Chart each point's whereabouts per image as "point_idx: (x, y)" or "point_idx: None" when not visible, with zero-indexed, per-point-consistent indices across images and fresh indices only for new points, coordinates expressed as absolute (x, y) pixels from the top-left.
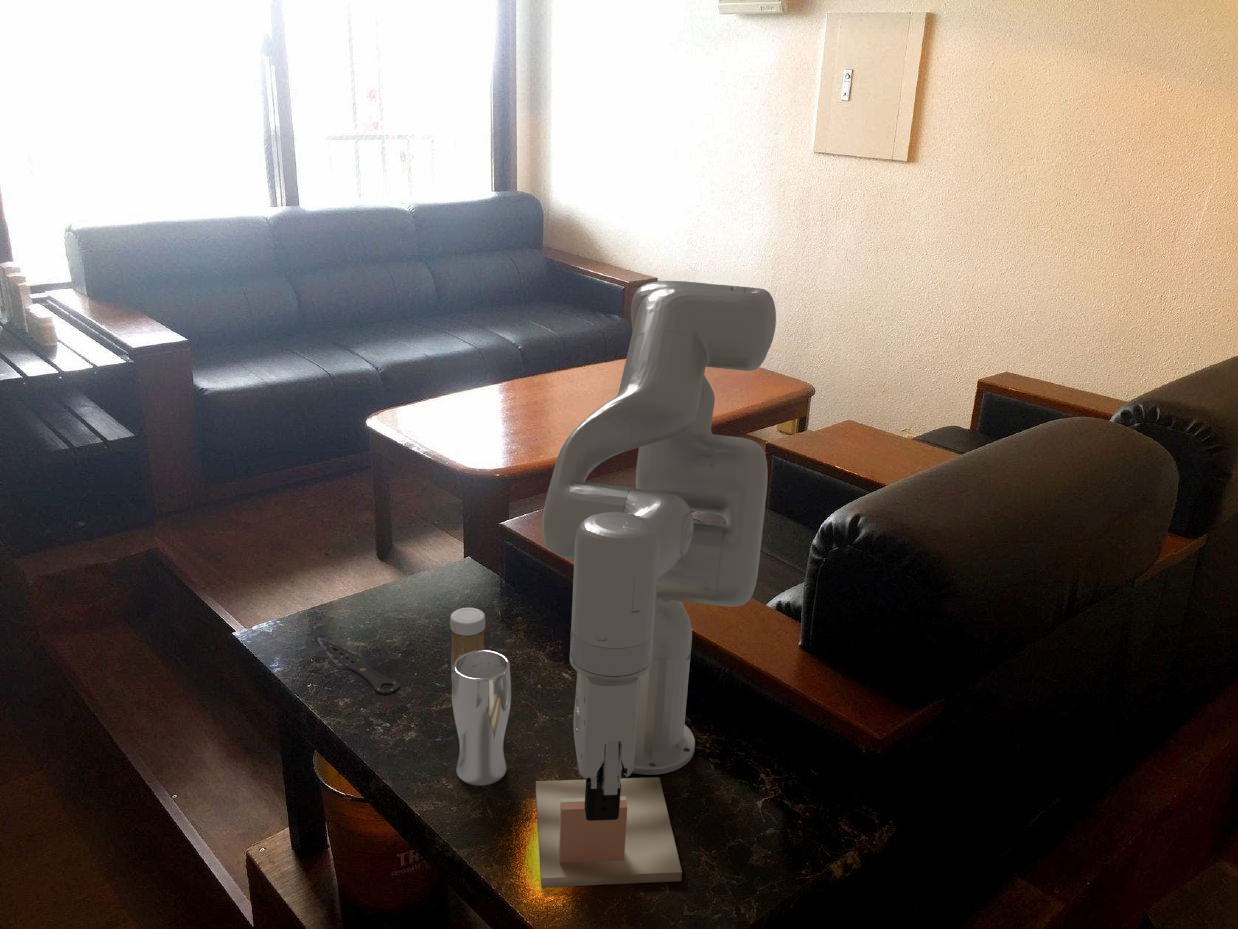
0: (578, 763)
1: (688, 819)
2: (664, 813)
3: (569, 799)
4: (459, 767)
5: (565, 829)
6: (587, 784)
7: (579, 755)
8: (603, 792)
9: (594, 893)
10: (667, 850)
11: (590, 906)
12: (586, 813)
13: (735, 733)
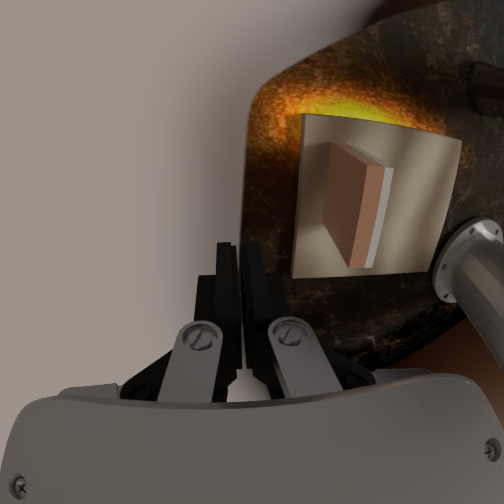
0: (90, 423)
1: (372, 286)
2: (381, 271)
3: (388, 183)
4: (488, 63)
5: (350, 162)
6: (220, 314)
7: (66, 473)
8: (76, 391)
9: (284, 177)
10: (328, 268)
11: (263, 170)
12: (217, 251)
13: (445, 325)
